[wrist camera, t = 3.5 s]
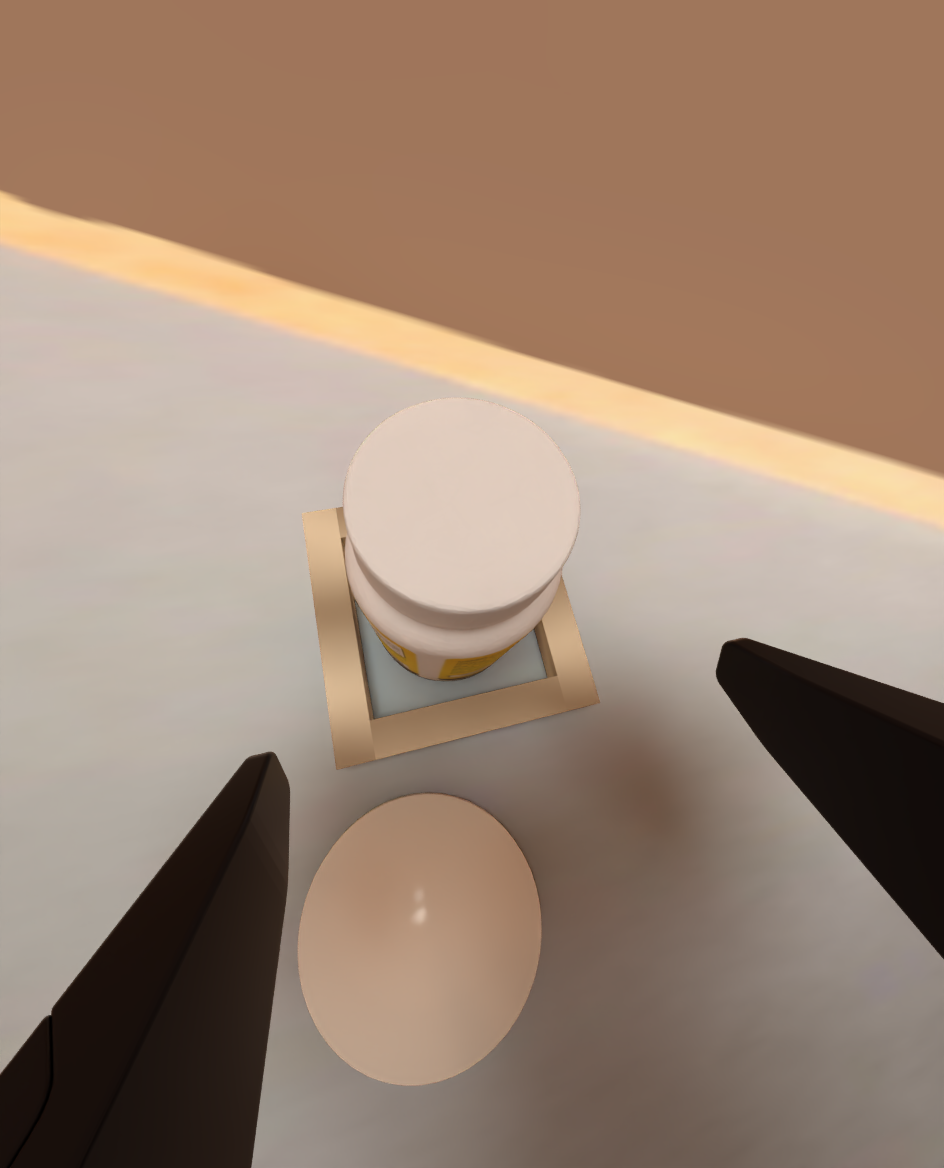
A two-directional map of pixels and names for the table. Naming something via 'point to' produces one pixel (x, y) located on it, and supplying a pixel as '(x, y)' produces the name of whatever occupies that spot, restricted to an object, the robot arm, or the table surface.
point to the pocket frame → (442, 722)
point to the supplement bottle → (457, 532)
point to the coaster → (419, 939)
